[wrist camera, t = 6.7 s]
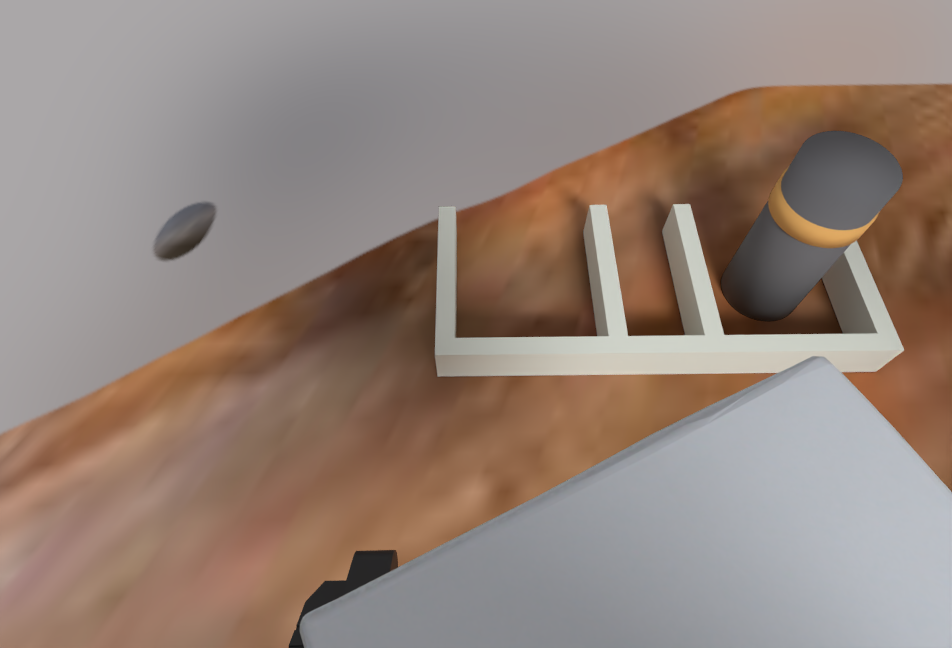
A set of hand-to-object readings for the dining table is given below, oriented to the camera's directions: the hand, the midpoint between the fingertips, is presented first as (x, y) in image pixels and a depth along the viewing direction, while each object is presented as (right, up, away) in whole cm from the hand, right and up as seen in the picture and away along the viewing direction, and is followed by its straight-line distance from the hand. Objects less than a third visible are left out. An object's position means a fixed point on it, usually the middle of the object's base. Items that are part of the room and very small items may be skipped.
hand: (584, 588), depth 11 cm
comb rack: (+8, +7, +24) cm, 26 cm away
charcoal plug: (+15, +7, +24) cm, 29 cm away
